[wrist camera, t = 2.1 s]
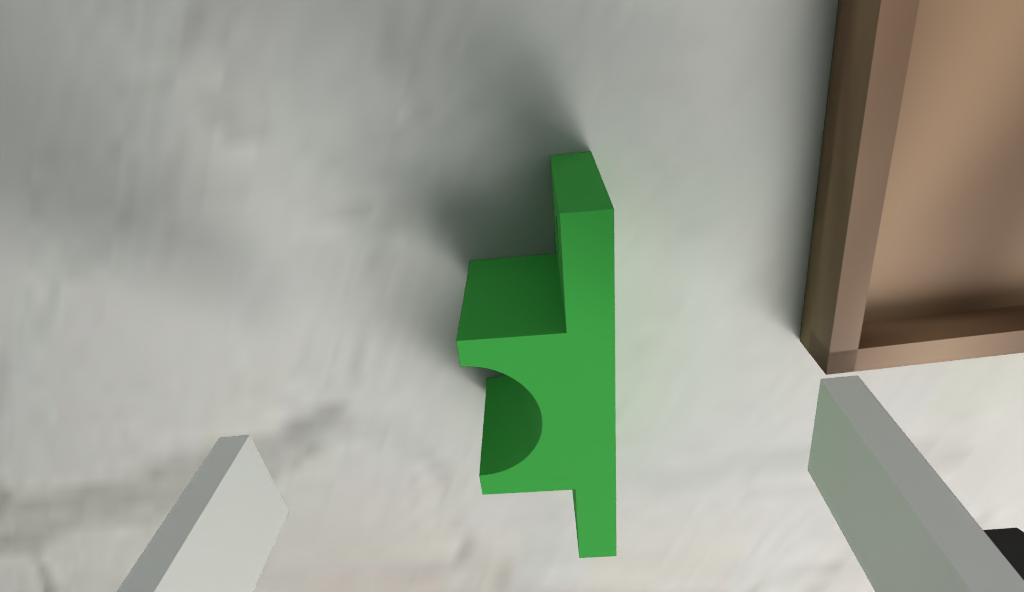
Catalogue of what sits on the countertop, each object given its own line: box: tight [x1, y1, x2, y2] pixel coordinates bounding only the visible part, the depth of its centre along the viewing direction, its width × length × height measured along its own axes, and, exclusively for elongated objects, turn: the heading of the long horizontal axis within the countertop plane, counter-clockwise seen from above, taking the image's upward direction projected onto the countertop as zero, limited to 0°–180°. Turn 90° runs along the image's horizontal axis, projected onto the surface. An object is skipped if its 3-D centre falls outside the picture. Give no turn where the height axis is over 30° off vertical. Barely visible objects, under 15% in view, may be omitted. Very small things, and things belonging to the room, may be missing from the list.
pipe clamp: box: [456, 152, 616, 558], centre depth 17 cm, size 11×4×5 cm, turn 5°
